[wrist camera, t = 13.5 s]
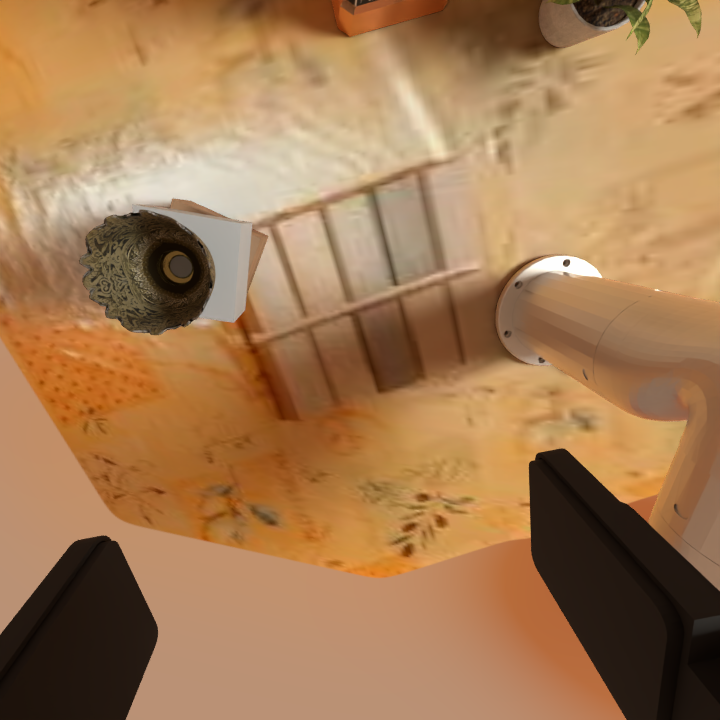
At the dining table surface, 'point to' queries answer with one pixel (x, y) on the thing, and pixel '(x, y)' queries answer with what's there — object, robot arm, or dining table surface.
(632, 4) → the house plant
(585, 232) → the dining table surface
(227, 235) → the top block
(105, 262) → the olive textured cup shape
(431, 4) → the whiskey bottle
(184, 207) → the bottom block
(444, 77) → the dining table surface
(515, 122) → the dining table surface
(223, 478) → the dining table surface
